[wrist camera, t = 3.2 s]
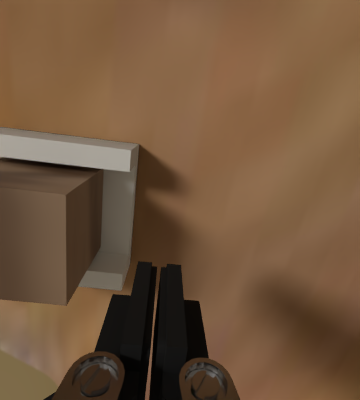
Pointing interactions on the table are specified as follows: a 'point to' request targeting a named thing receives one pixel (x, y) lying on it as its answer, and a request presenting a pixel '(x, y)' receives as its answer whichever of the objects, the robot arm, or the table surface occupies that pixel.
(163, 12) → the table surface
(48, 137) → the chute
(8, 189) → the walnut block
